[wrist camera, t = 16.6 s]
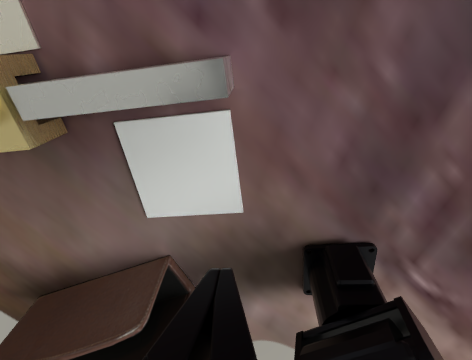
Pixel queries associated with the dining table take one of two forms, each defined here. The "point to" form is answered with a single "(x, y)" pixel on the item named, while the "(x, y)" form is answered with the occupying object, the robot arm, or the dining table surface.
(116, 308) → the letter holder
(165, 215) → the pad
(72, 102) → the flange rail
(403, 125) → the dining table surface
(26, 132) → the clip saddle
